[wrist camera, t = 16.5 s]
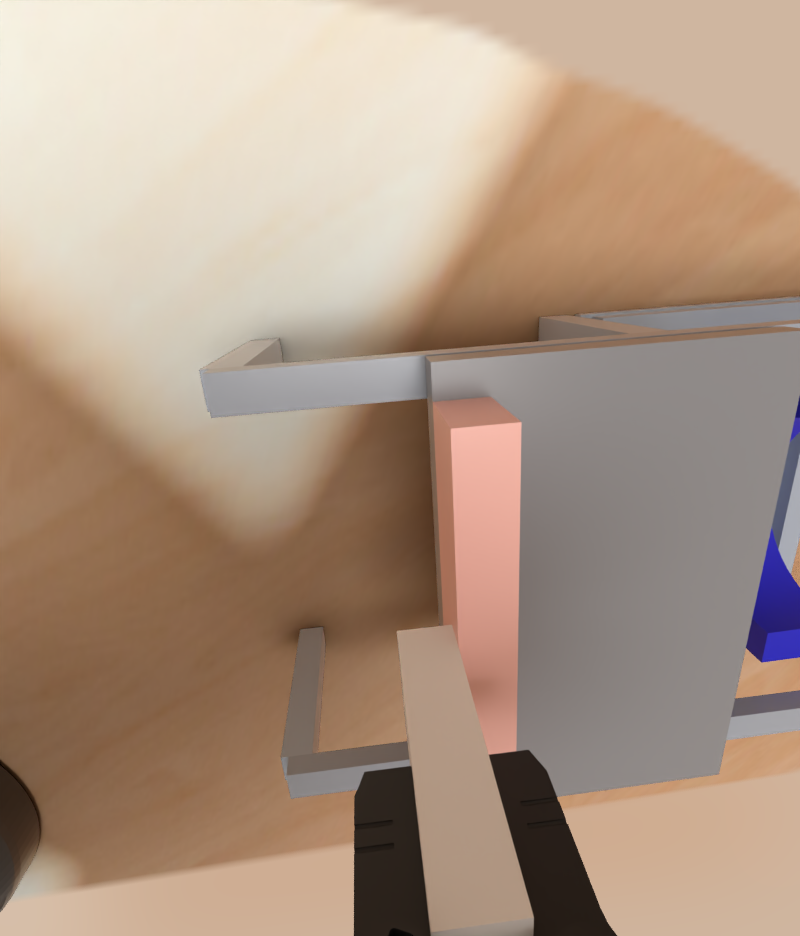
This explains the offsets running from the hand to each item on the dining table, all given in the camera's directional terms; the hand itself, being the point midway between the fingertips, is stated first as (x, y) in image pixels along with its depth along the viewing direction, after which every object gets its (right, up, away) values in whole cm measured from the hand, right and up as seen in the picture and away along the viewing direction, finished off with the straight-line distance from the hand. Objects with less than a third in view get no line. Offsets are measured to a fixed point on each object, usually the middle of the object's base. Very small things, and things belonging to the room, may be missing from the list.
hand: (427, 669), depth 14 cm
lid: (+5, +1, +3) cm, 6 cm away
